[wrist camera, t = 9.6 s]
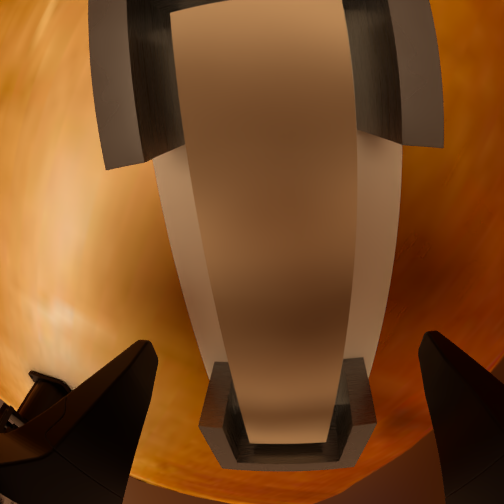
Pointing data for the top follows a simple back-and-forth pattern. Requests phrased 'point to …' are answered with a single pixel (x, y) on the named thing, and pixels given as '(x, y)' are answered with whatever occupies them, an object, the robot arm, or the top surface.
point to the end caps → (172, 136)
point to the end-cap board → (366, 247)
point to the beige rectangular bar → (274, 198)
